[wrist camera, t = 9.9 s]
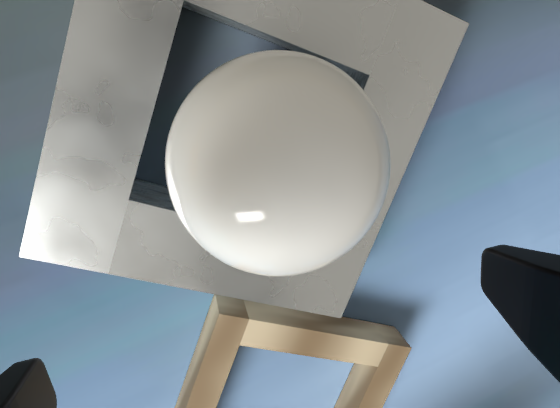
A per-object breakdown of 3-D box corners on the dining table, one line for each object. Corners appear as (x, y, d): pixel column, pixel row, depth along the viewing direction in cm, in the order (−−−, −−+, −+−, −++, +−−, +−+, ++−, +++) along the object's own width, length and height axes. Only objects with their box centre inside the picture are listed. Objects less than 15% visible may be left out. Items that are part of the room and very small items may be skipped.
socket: (428, 26, 21) (468, 23, 18) (320, 286, 24) (340, 318, 21) (117, -121, 16) (108, -154, 13) (39, 226, 20) (18, 256, 17)
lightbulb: (282, 26, 19) (406, 7, 9) (323, 160, 22) (456, 261, 12) (142, 78, 19) (108, 118, 9) (200, 209, 21) (228, 361, 11)
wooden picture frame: (394, 326, 26) (411, 347, 24) (327, 469, 29) (337, 498, 27) (214, 292, 23) (219, 313, 21) (157, 458, 25) (156, 490, 24)
